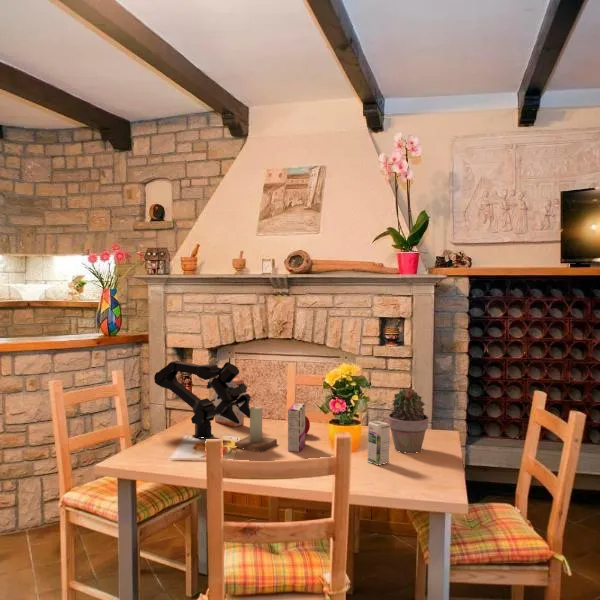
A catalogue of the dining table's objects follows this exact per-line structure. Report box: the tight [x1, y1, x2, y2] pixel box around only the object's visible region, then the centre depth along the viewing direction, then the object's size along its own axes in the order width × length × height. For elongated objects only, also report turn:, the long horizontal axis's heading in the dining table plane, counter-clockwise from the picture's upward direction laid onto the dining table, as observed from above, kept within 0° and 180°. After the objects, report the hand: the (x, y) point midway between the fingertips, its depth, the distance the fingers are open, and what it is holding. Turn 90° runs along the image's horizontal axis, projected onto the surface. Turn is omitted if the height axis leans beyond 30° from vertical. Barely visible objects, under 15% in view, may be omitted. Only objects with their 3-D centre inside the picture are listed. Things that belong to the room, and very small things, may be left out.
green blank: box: [249, 406, 263, 443], centre depth 219 cm, size 5×5×13 cm
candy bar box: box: [287, 402, 306, 453], centre depth 217 cm, size 11×5×16 cm, turn 168°
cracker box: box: [214, 376, 245, 428], centre depth 252 cm, size 14×6×21 cm, turn 47°
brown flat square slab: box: [234, 435, 278, 453], centre depth 219 cm, size 12×12×2 cm
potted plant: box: [387, 388, 432, 454], centre depth 216 cm, size 18×20×25 cm
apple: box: [305, 415, 311, 436], centre depth 235 cm, size 9×9×10 cm
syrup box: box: [367, 420, 391, 465], centre depth 200 cm, size 6×6×14 cm
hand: (245, 420), depth 221 cm, fingers open, 9 cm apart
